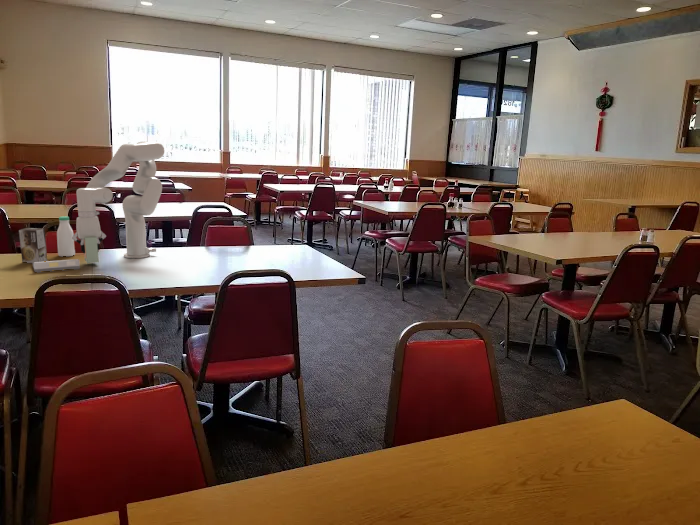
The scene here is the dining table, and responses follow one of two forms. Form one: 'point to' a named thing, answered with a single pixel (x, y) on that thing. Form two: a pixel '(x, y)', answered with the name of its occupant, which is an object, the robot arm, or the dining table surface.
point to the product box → (91, 250)
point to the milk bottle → (65, 238)
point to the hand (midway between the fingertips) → (90, 251)
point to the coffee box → (33, 245)
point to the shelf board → (56, 265)
